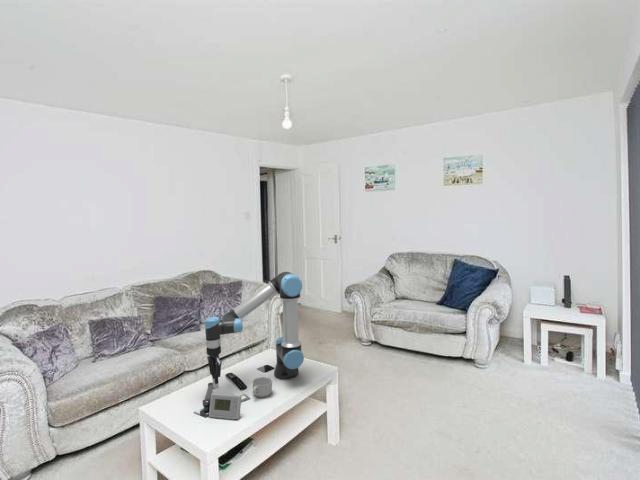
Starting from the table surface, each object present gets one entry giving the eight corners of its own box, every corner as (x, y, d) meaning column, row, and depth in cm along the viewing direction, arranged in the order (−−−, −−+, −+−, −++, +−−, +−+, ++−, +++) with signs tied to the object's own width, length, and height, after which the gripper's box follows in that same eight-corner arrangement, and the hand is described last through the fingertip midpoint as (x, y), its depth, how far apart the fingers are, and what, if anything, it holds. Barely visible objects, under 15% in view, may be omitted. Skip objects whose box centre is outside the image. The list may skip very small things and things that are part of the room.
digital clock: (206, 417, 179) (205, 396, 178) (218, 408, 187) (217, 388, 187) (234, 424, 173) (233, 402, 172) (245, 414, 181) (244, 393, 180)
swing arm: (210, 406, 181) (210, 401, 181) (202, 407, 181) (201, 402, 181) (215, 386, 203) (215, 382, 203) (207, 386, 202) (207, 382, 202)
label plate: (244, 394, 201) (244, 393, 201) (250, 398, 196) (250, 397, 196) (231, 400, 195) (231, 398, 195) (237, 404, 191) (236, 402, 191)
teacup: (262, 388, 208) (262, 374, 208) (276, 393, 202) (276, 379, 201) (244, 398, 197) (243, 384, 196) (258, 404, 191) (258, 389, 190)
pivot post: (210, 407, 188) (210, 400, 188) (216, 412, 183) (216, 405, 183) (197, 412, 184) (197, 404, 183) (203, 418, 178) (203, 410, 178)
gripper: (201, 345, 199) (204, 386, 201) (212, 351, 189) (214, 395, 191) (214, 341, 204) (217, 382, 206) (225, 347, 194) (227, 390, 196)
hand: (215, 388), depth 198 cm, fingers closed
